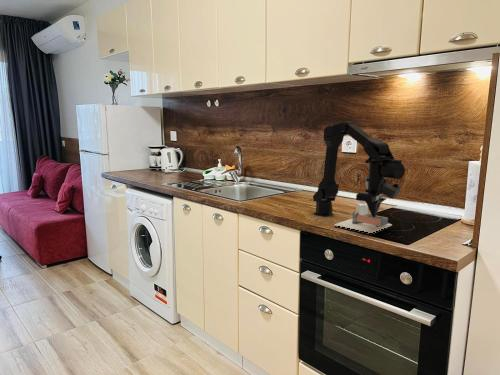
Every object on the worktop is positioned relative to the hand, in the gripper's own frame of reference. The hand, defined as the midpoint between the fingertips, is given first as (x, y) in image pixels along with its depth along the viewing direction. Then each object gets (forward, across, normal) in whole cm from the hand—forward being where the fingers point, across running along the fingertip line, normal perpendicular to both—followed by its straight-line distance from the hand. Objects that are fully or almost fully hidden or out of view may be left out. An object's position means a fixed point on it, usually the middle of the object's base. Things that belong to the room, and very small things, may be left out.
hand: (373, 216), depth 140 cm
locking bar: (+5, +3, +4) cm, 7 cm away
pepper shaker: (+6, +15, +13) cm, 21 cm away
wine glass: (+6, +35, +18) cm, 40 cm away
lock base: (+6, +4, +6) cm, 9 cm away
